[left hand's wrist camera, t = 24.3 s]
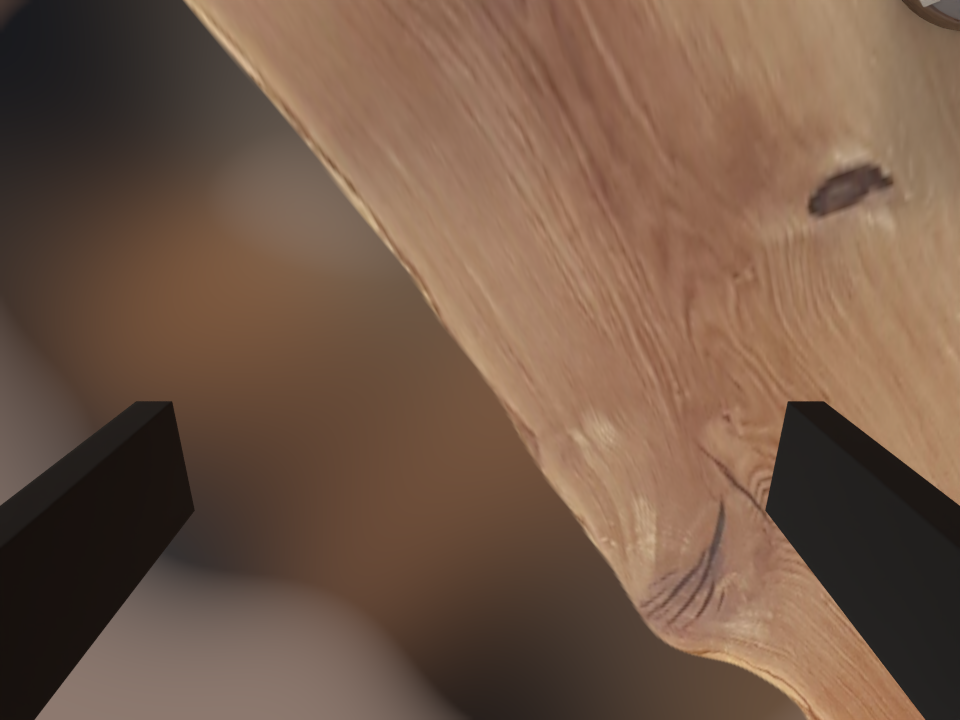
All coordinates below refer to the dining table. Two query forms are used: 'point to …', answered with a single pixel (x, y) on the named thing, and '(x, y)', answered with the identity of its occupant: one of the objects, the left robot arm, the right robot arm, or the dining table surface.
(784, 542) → the dining table surface
